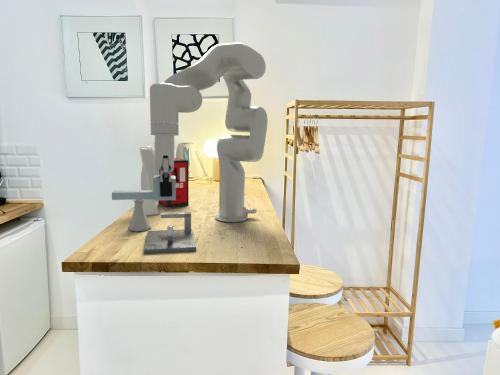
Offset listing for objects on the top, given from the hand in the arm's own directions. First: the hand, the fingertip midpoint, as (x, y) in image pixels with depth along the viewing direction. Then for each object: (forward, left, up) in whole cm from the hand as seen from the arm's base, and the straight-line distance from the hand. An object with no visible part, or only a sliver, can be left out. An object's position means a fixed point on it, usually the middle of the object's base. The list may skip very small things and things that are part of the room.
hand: (165, 193), depth 102 cm
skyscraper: (+6, -41, -16) cm, 44 cm away
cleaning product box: (-1, -59, -16) cm, 61 cm away
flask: (+9, -19, -16) cm, 26 cm away
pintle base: (-1, -3, -15) cm, 16 cm away
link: (+6, 0, -1) cm, 6 cm away
